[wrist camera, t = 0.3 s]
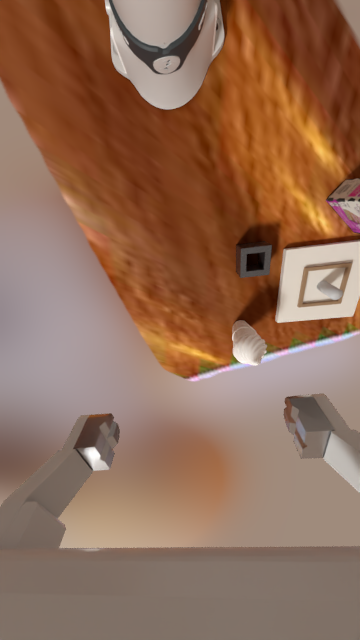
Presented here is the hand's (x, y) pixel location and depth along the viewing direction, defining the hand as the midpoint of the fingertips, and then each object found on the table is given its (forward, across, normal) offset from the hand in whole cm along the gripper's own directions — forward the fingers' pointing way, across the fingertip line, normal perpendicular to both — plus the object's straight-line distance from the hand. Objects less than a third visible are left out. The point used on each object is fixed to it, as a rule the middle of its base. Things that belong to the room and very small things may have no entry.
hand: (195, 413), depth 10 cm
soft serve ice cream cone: (+46, -11, +26) cm, 54 cm away
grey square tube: (+46, -14, +6) cm, 49 cm away
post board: (+46, -32, +16) cm, 58 cm away
